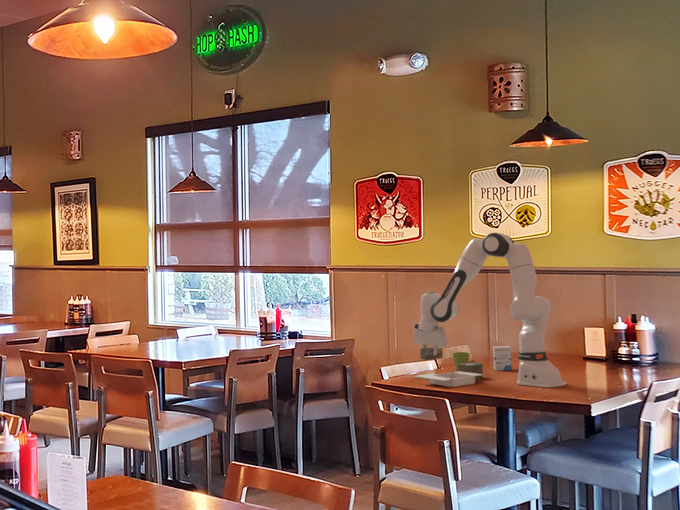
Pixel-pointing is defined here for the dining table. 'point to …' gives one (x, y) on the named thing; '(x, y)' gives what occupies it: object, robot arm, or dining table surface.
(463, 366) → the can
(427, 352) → the walnut box
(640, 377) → the dining table surface
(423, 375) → the sage mat
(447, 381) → the grey tray
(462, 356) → the plant pot
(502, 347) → the ink box
